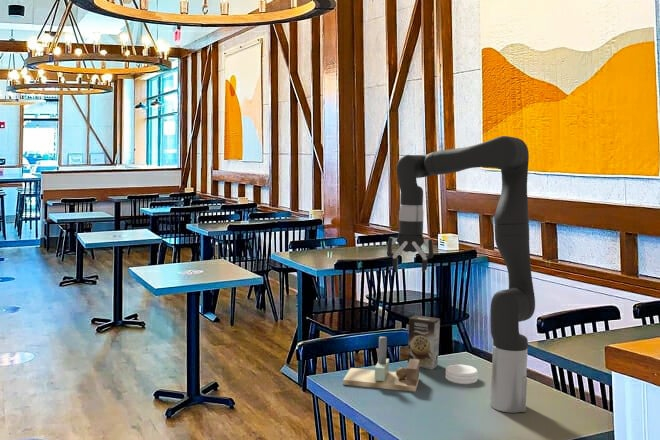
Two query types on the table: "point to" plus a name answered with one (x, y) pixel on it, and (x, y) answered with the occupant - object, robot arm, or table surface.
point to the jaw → (382, 361)
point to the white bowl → (461, 374)
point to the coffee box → (424, 340)
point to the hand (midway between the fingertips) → (409, 270)
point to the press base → (394, 380)
